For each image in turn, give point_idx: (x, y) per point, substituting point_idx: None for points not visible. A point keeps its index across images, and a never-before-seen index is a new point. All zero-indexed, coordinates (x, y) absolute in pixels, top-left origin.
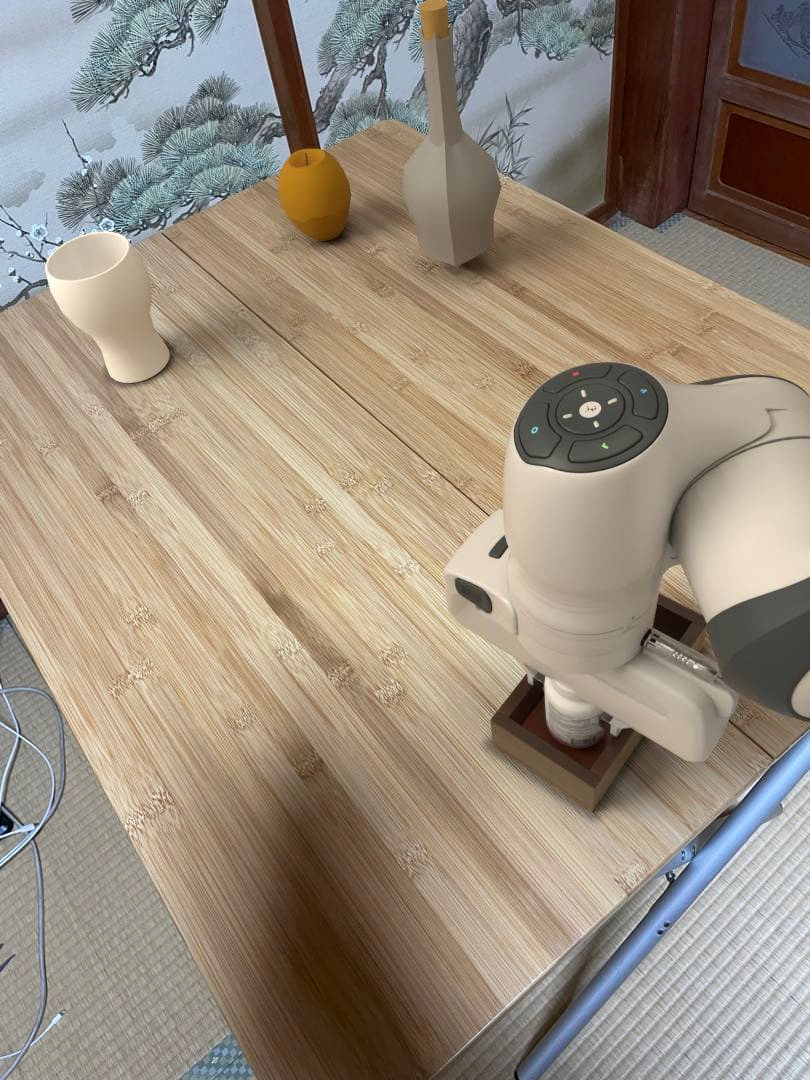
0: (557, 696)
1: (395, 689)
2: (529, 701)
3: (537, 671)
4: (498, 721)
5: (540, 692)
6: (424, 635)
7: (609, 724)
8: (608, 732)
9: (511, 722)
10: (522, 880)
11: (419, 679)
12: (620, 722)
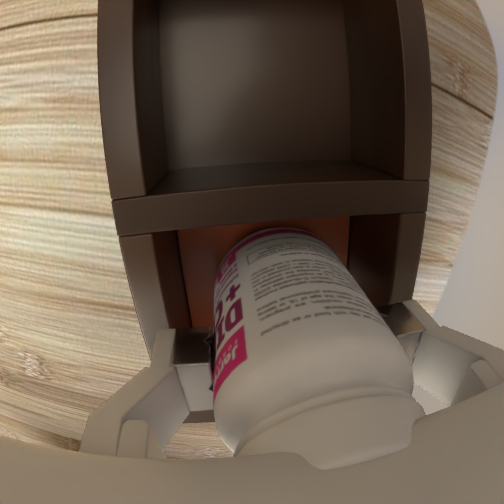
0: None
1: (33, 360)
2: (182, 325)
3: (183, 403)
4: (185, 419)
5: (177, 276)
6: None
7: None
8: (323, 237)
9: (204, 411)
10: None
11: (34, 335)
12: (449, 405)
